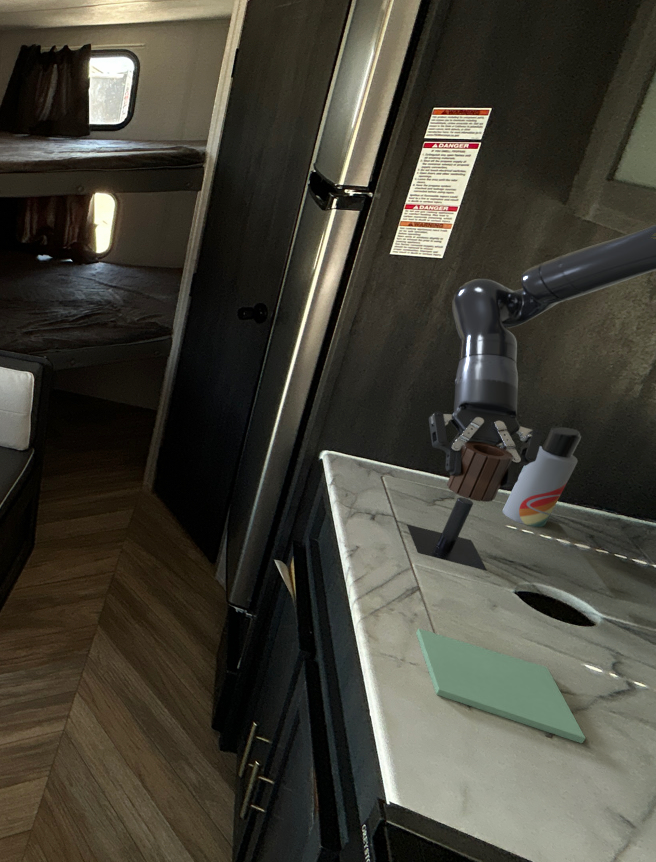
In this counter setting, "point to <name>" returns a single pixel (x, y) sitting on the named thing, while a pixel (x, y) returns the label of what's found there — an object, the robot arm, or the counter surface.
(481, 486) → the brown grooved hollow cylinder
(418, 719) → the counter surface
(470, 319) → the robot arm
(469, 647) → the mat
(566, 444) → the lotion bottle
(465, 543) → the peg stand
